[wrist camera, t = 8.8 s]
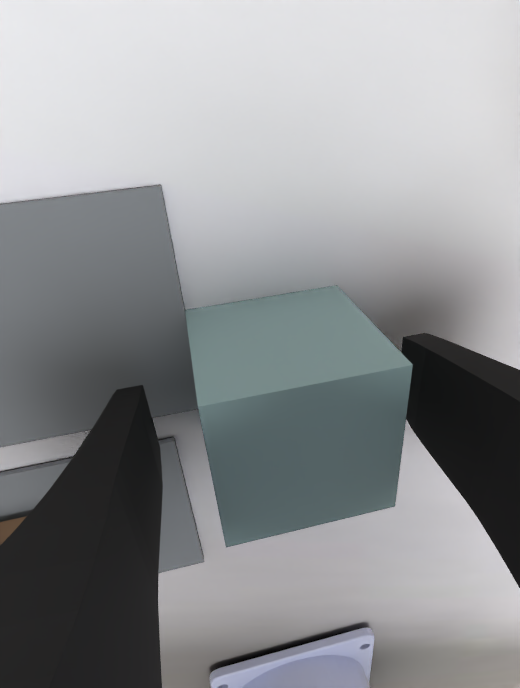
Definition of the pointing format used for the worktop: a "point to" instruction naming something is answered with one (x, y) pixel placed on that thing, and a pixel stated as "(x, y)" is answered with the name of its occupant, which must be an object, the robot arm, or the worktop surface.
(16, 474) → the foot pad
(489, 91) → the worktop surface
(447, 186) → the worktop surface
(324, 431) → the block
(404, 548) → the worktop surface
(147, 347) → the seat pad
